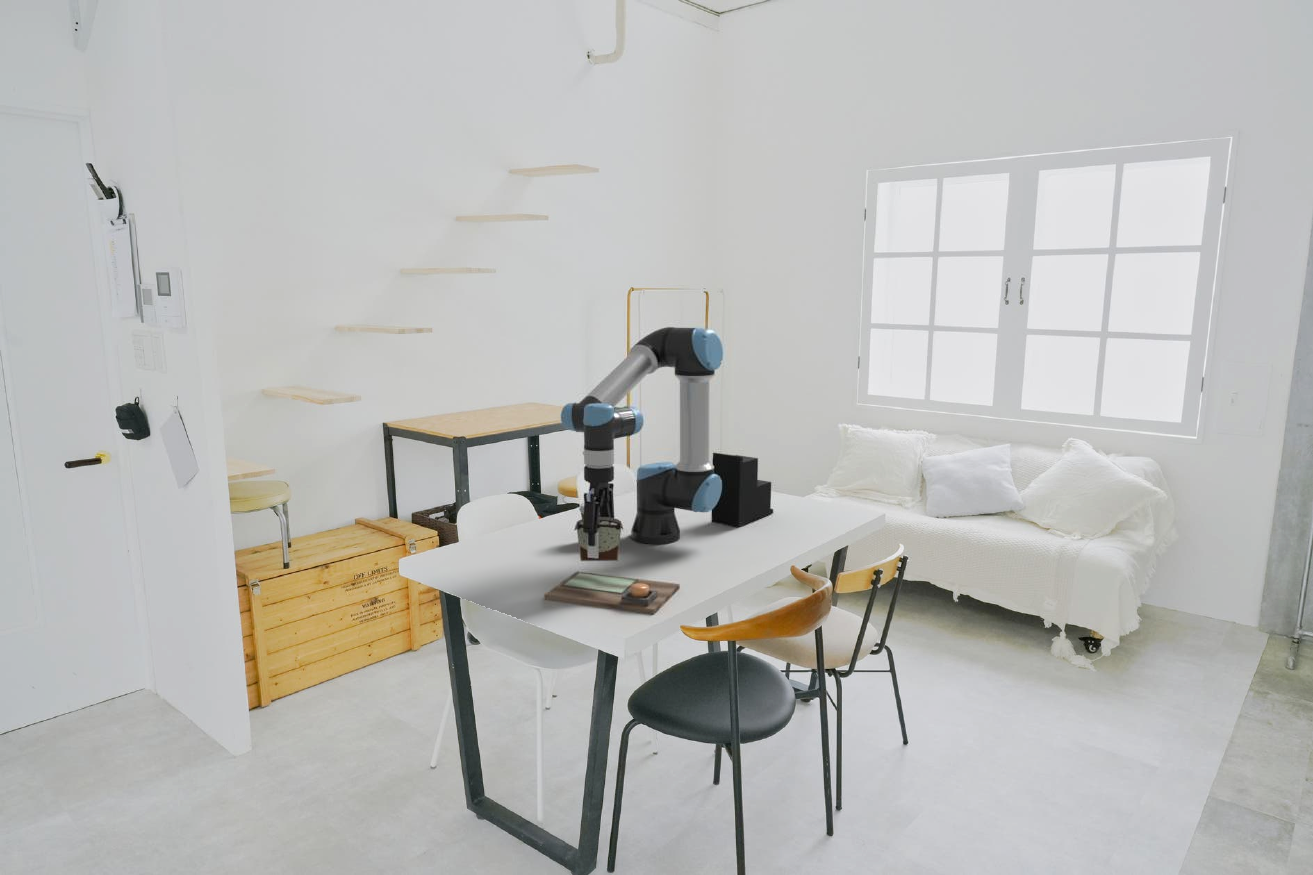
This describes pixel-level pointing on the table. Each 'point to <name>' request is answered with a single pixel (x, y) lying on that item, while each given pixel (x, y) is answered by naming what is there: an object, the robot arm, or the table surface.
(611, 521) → the food container
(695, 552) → the table surface
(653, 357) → the robot arm
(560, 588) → the picture board
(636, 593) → the button
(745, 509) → the black stepped block
